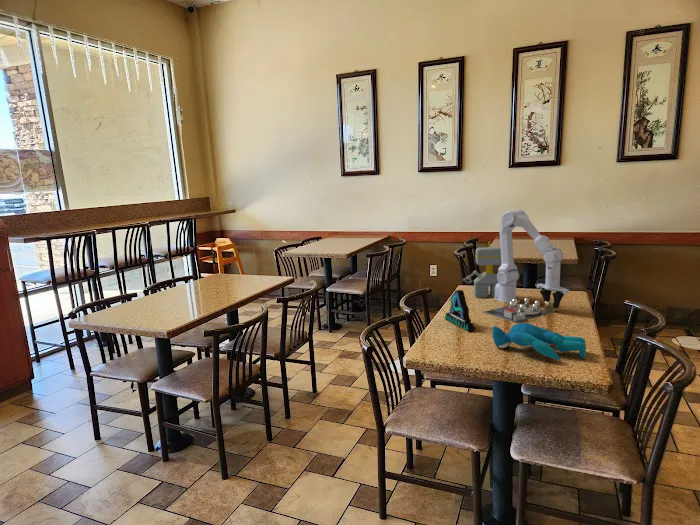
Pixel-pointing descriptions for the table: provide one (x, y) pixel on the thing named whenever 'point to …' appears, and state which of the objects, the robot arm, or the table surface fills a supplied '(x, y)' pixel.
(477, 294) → the toy
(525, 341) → the toy
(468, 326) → the decorative sign
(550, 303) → the link block
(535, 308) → the pinned metal disc
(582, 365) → the table surface
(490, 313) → the base plate
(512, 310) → the red-ended rectangular metal block
